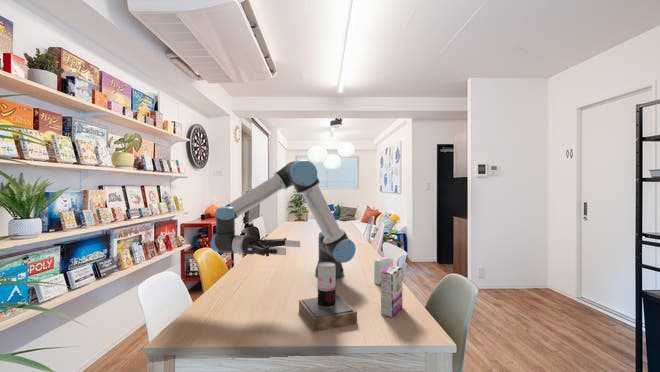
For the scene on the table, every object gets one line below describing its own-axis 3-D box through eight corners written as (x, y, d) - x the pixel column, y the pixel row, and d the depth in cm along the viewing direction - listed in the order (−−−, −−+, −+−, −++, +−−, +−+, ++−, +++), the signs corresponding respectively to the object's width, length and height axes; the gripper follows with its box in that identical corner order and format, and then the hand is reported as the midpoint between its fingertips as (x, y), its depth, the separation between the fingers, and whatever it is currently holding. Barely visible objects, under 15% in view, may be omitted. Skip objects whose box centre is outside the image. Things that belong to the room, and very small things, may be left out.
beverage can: (333, 300, 120) (333, 261, 119) (337, 307, 113) (337, 266, 113) (316, 301, 119) (316, 262, 118) (319, 308, 112) (319, 267, 112)
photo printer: (388, 279, 159) (388, 255, 159) (394, 281, 155) (394, 256, 155) (372, 283, 153) (373, 258, 153) (378, 285, 150) (379, 259, 149)
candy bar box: (390, 304, 127) (391, 264, 126) (402, 307, 124) (403, 266, 124) (379, 315, 117) (380, 271, 117) (392, 318, 115) (392, 273, 114)
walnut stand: (336, 304, 127) (336, 293, 127) (357, 323, 111) (357, 310, 111) (299, 310, 121) (299, 299, 121) (314, 331, 105) (314, 318, 105)
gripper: (261, 247, 142) (304, 249, 136) (228, 261, 119) (279, 265, 112) (261, 230, 142) (304, 232, 136) (227, 242, 118) (278, 244, 112)
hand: (293, 247), depth 124 cm, fingers open, 13 cm apart
